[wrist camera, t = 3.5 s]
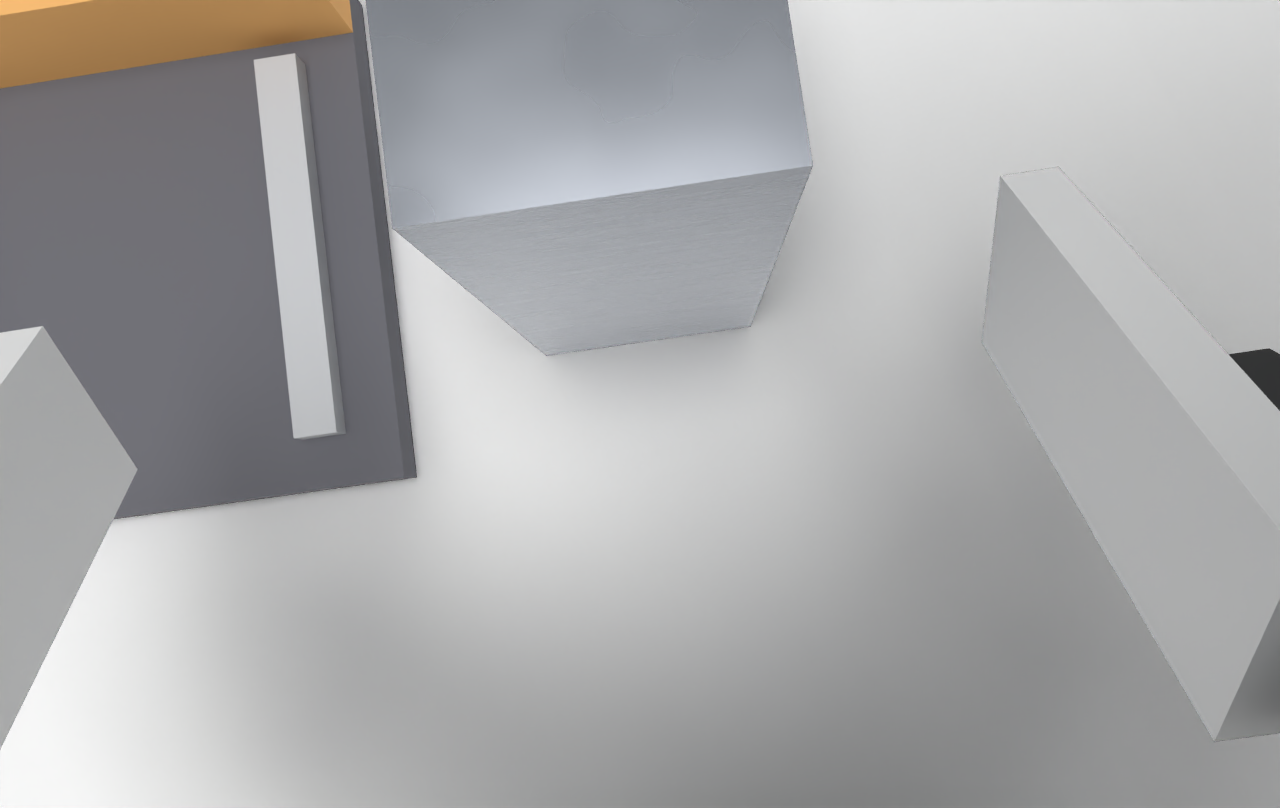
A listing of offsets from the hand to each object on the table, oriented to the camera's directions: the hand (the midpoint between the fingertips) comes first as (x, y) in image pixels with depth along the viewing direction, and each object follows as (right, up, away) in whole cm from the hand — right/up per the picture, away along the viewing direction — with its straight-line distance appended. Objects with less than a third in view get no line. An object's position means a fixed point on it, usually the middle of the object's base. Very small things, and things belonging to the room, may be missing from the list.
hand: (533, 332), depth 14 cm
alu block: (+1, +4, +10) cm, 11 cm away
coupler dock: (-11, +2, +10) cm, 15 cm away
